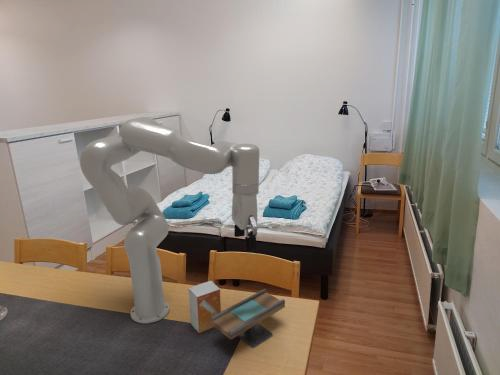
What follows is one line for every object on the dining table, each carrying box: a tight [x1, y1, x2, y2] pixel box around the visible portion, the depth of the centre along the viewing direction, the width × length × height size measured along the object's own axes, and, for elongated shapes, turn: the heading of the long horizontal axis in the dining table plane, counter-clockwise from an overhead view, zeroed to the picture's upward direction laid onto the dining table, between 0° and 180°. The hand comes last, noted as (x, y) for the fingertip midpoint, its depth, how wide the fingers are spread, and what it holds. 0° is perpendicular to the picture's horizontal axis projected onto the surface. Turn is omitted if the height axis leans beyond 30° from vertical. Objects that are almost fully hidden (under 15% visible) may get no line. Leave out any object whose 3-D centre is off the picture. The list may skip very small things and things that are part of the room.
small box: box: [188, 280, 222, 334], centre depth 114 cm, size 8×6×13 cm
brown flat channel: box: [211, 288, 286, 340], centre depth 110 cm, size 9×22×2 cm, turn 132°
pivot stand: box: [236, 322, 274, 349], centre depth 111 cm, size 12×8×6 cm, turn 42°
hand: (244, 242), depth 109 cm, fingers open, 9 cm apart
